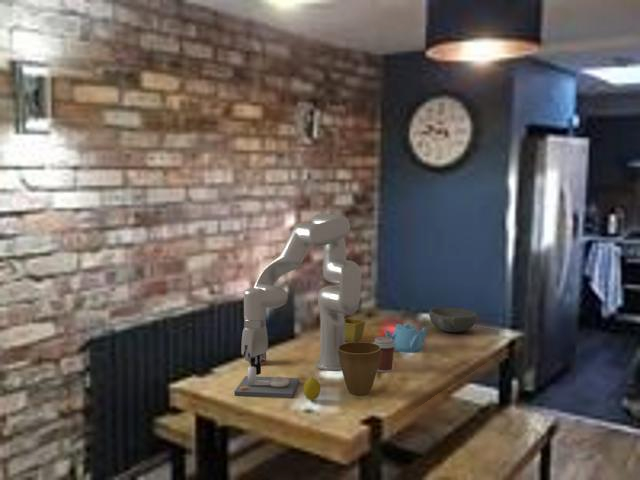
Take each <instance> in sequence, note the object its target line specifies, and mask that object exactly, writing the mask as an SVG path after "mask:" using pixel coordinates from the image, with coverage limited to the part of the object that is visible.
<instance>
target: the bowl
mask: <svg viewBox="0 0 640 480" xmlns="http://www.w3.org/2000/svg"><path fill="white" fill-rule="evenodd" d="M428 311H429V312H428V316H429V319H430V322H431V323H432V325H433V326H434V327H435V328H436V329H438V330H440V331H442V332H446V333H447V332H448V333H460V332H462V333H463V332H465V331H468V330H470V329H471V328H473V326H475V324H476V323H477V321H478V313H477V312H476V311H475V310H471V309H467V308H461V307H449V306H439V307H438V306H437V307H432V308H431V309H429V310H428Z"/></svg>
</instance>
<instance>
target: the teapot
mask: <svg viewBox="0 0 640 480" xmlns="http://www.w3.org/2000/svg"><path fill="white" fill-rule="evenodd" d="M427 331H428V327H427V326H425V327H422V329H421V331H420V332H419V330H418V329H417V328H416V327H415V326H411V324H409V323H403V325H402V324H401V323H396V326H395V330H394V331H393V333H392V334H391V332H390V331H389V330H385V331H384V333H385V335H386V336H385V337H389V338H392V339H393V342H395V343H396V346H395V347H394V351H396V352H401V353H415V352H419V351H420V350H421V349H422V347H423V345H424V342H425V339H426V336H427Z"/></svg>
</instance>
